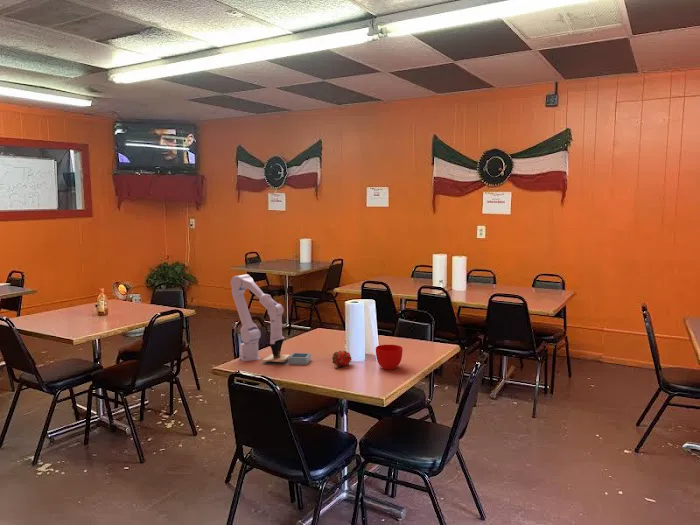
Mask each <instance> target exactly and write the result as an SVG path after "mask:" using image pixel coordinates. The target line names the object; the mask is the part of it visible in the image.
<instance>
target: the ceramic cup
mask: <svg viewBox="0 0 700 525" xmlns="http://www.w3.org/2000/svg"><path fill="white" fill-rule="evenodd" d="M403 351H404V350H403V346H401V345H398V344H380V345H377V346H375V356H376V361H377V362H378V365H379V366H380V368H382V369H383V370H385V369H386V371H393V370H396V369H397V367H398V366H399V365H400V364H401V361H402V358H403ZM395 368H396V369H395ZM392 369H393V370H392Z"/></svg>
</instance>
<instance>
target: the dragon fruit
mask: <svg viewBox="0 0 700 525" xmlns="http://www.w3.org/2000/svg"><path fill="white" fill-rule="evenodd" d="M331 358H332V361H331V363H332V364H334V366H337V367H338V368H340V367H344V368H345V367H348V366H349V365H350V363H351V361H352V357H351V354H350V352H347V350H339V351H335V352H334V353H333V354H332V357H331Z"/></svg>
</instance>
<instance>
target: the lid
mask: <svg viewBox="0 0 700 525" xmlns="http://www.w3.org/2000/svg"><path fill="white" fill-rule="evenodd" d="M290 356H291V354H281V352H280V351H278V356H273V353H269V354H267V356H266V357H264V358H263V359H262V362H264V361H270V362H285V361H286V360H287V359H288V358H289V357H290Z"/></svg>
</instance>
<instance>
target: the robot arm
mask: <svg viewBox="0 0 700 525" xmlns="http://www.w3.org/2000/svg"><path fill="white" fill-rule="evenodd" d="M229 283H230V287H231V295H232V298H233V301H234V305H235V306H236V308H235V309H236V310H237V313H238V316H239V320H240V322H241V325H242V326H241V327H240V330H239V332H240V339H241V341H242V342H241V343H239V345H238V346H239V349H238V350H239V357H238V359H239V360H241V361H242V362H248V361H256V360H262V359H261V357H259V341H260V340H259V339H260V338H261V336H262V333H261V330H260V329H259V328H258V325H257V324H256V323H255V322H253V319H252V316H251V313H250V311H249V308H248V304H247V302H246V299H245V292H246V290H249V291H250V292H251V293H252V294H254V296H256V297H257V298H258V300H259V303H260V304H261V305H262V306H263V307H264V308H265V309H266V310H267V314H268V316H269V320H270V323H269V324H270V337H269V339H270V340H269V342H268V345H269V347H270V349H271V352H272V353H271V354H273V356H278V351H280V353H281V351H282V346H283V343H284V342H285V341H284V339H285V336H283V320H282V319H283V314H284V312H285V308H284V306H283V305H282V303H278V302H277V301H275V300H274V299H273V298H272V295H271V294H268V293H264V292H263V290H262V289H261V288H260V287H259V286H258V285H257V284H256V282H255V281H254V279H253V277H251V276H250V274H248V273H245V274H241V275H234V276H232V278H231V279H230V282H229Z"/></svg>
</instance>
